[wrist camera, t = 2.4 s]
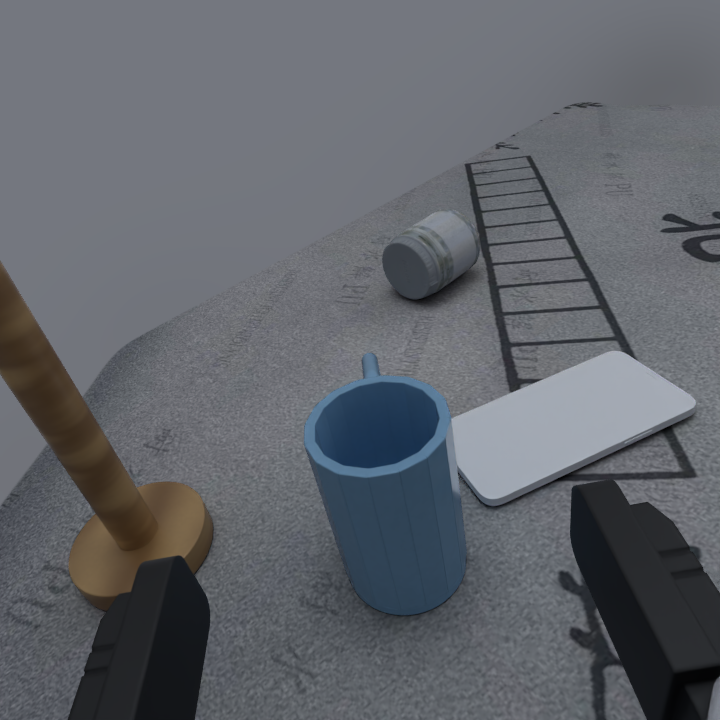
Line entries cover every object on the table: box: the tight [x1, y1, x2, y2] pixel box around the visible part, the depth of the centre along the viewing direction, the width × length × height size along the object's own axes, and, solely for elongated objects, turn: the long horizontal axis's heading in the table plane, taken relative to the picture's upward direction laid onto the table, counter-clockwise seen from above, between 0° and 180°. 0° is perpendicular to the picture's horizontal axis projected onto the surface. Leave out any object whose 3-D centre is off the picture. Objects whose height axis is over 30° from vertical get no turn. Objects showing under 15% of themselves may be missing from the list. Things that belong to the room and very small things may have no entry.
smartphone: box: [452, 351, 696, 506], centre depth 36 cm, size 7×1×15 cm
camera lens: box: [382, 209, 480, 300], centre depth 52 cm, size 6×6×8 cm
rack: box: [0, 261, 213, 611], centre depth 22 cm, size 14×8×42 cm, turn 94°
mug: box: [304, 353, 467, 615], centre depth 29 cm, size 11×6×10 cm, turn 4°
